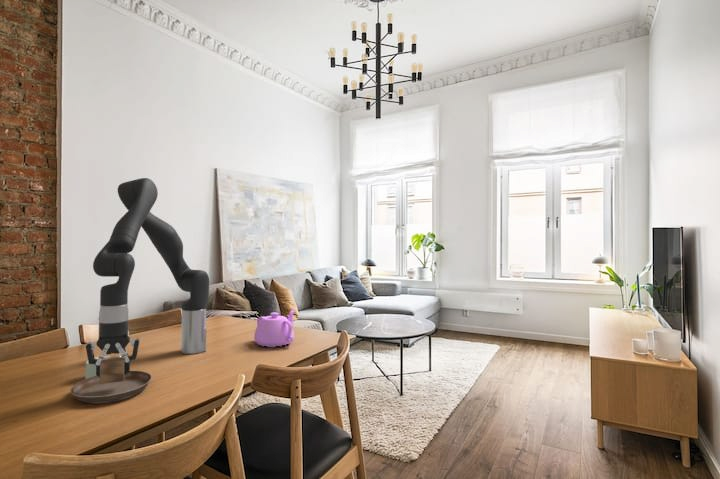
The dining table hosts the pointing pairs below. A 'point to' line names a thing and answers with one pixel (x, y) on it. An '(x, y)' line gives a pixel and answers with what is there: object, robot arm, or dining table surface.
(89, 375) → the green block
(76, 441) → the dining table surface
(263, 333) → the teapot
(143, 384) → the plant saucer
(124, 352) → the robot arm
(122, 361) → the walnut block
